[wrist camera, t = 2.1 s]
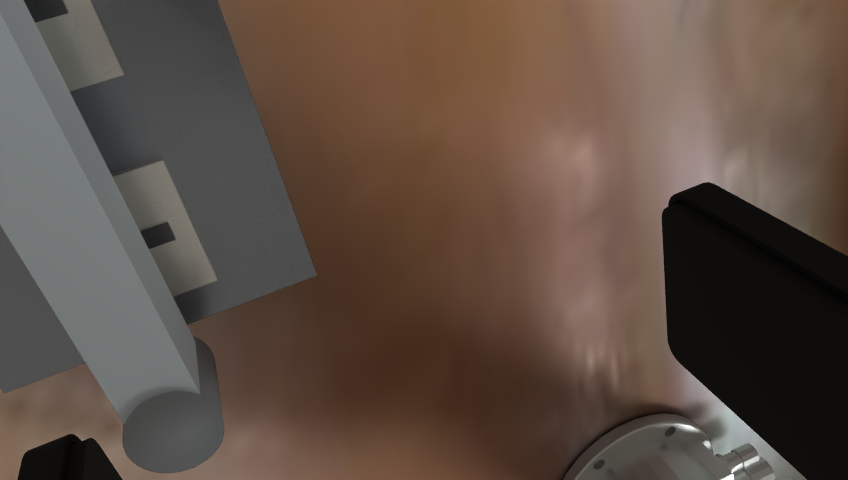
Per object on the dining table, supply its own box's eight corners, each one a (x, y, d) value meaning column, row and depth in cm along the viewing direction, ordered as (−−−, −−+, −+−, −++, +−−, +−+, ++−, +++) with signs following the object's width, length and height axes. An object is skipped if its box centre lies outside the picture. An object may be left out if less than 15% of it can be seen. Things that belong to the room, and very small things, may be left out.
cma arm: (-101, -338, 15) (-162, -391, 12) (240, 378, 26) (252, 443, 23) (-304, -299, 15) (-423, -346, 12) (133, 420, 25) (131, 493, 22)
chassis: (110, -279, 23) (95, -342, 17) (291, 214, 33) (326, 296, 26) (-294, -193, 21) (-494, -225, 14) (28, 308, 31) (-5, 424, 24)
